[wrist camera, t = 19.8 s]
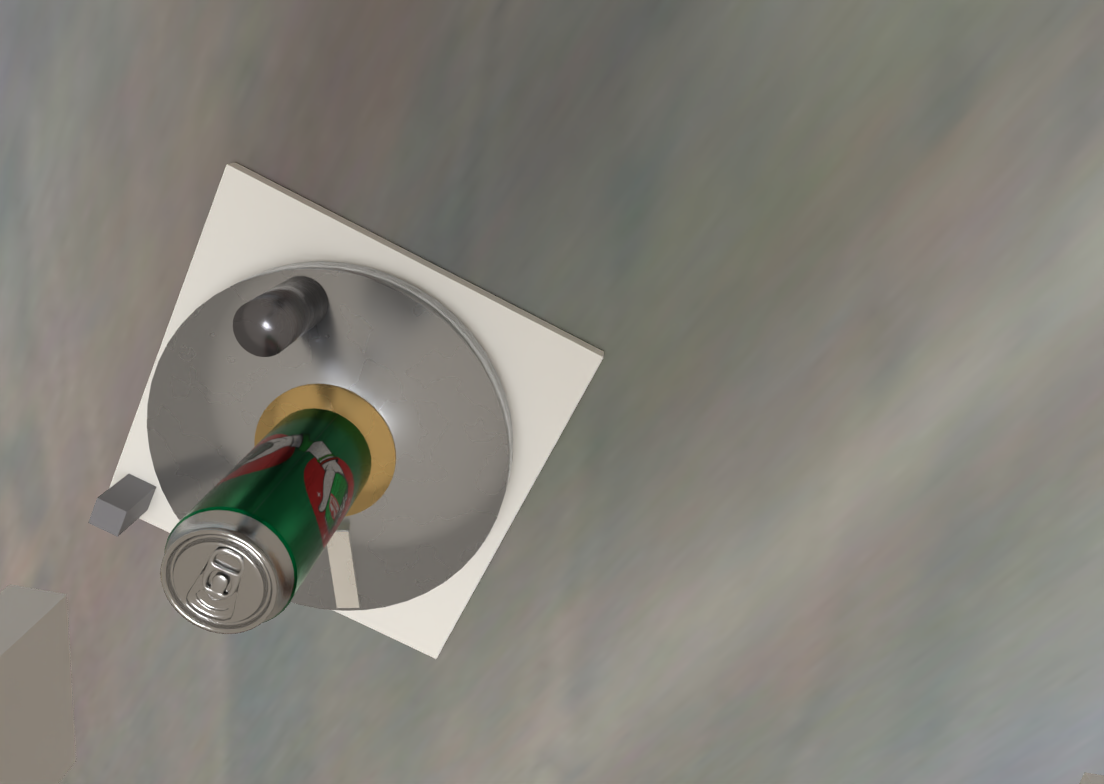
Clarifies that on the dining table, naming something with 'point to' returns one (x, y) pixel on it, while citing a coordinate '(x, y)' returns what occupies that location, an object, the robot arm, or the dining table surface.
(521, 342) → the base plate
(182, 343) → the turntable
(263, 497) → the soda can
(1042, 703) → the dining table surface
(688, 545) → the dining table surface
